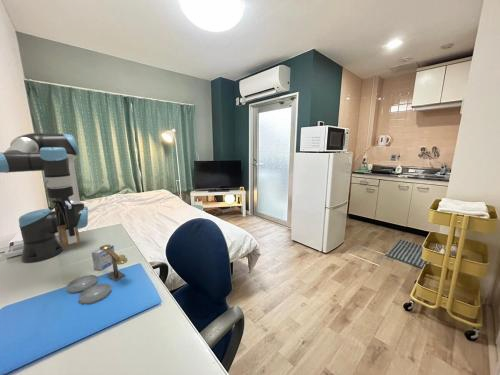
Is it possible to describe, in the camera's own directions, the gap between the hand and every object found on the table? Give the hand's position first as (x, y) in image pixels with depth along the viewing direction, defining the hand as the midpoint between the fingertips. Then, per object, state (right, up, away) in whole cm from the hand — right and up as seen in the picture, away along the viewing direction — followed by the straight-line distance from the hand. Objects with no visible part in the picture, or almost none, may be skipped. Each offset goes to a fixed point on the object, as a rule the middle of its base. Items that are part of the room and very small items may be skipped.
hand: (69, 241), depth 87 cm
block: (0, -1, 0) cm, 1 cm away
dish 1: (+7, -17, -2) cm, 19 cm away
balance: (+18, -16, +3) cm, 24 cm away
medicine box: (+7, -15, +12) cm, 20 cm away
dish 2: (+17, -19, -8) cm, 26 cm away
